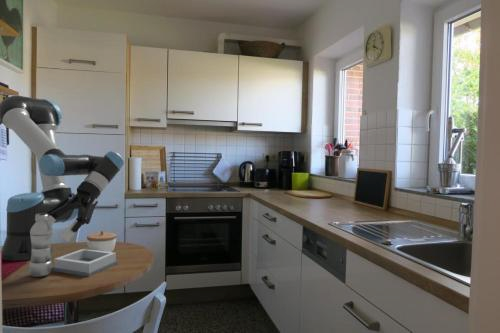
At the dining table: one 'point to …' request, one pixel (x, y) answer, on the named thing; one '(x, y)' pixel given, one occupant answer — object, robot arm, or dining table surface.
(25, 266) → the dining table surface
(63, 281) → the dining table surface
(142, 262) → the dining table surface
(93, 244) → the lidded jar
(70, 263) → the light grey square tray
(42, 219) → the plastic bottle
